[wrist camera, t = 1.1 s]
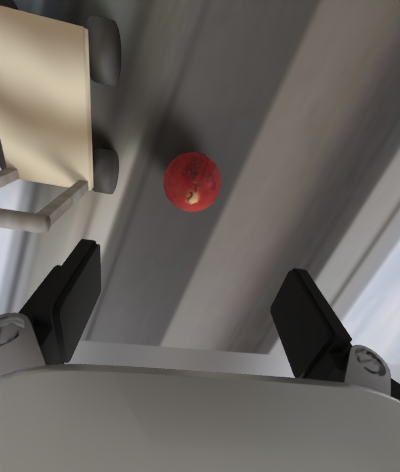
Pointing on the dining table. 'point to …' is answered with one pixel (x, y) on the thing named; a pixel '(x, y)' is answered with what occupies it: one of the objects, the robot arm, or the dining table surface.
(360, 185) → the dining table surface
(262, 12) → the dining table surface
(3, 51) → the trolley
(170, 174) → the onion
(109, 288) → the dining table surface
